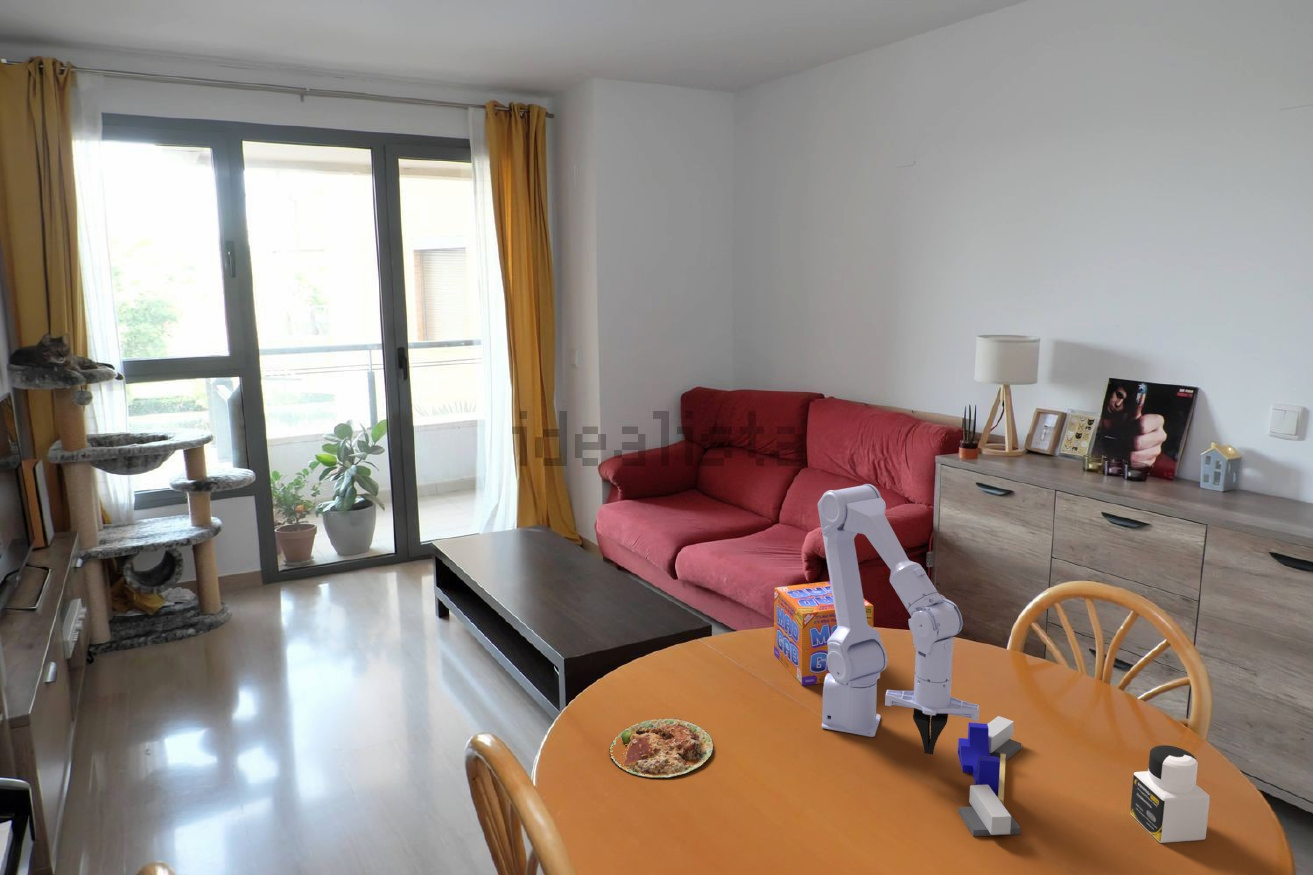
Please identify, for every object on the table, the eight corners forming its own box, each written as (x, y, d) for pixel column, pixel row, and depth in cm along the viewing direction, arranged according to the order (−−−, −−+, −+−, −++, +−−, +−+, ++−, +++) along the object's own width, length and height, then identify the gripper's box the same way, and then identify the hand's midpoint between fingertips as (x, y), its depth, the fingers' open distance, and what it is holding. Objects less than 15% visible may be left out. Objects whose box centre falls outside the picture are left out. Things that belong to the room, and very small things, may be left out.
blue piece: (957, 753, 149) (959, 721, 148) (985, 756, 149) (987, 723, 148) (968, 794, 138) (969, 759, 137) (998, 796, 137) (1000, 761, 136)
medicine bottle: (1128, 814, 132) (1135, 741, 130) (1173, 810, 132) (1180, 738, 130) (1159, 844, 125) (1166, 767, 123) (1206, 840, 125) (1214, 764, 123)
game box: (839, 646, 193) (840, 579, 190) (872, 677, 178) (874, 604, 175) (773, 654, 189) (773, 586, 187) (801, 686, 175) (802, 613, 172)
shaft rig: (955, 833, 128) (957, 809, 127) (968, 730, 156) (969, 711, 156) (1020, 847, 125) (1021, 823, 124) (1021, 739, 153) (1022, 719, 152)
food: (687, 791, 140) (686, 774, 140) (593, 769, 148) (592, 752, 147) (728, 736, 156) (727, 721, 156) (641, 718, 164) (640, 704, 163)
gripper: (883, 677, 140) (880, 754, 143) (979, 693, 135) (974, 772, 137) (889, 659, 147) (886, 733, 149) (981, 673, 141) (976, 750, 144)
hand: (929, 751), depth 144 cm, fingers closed
